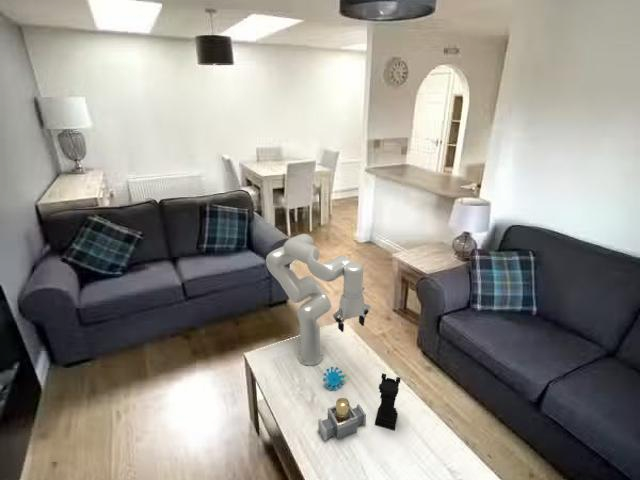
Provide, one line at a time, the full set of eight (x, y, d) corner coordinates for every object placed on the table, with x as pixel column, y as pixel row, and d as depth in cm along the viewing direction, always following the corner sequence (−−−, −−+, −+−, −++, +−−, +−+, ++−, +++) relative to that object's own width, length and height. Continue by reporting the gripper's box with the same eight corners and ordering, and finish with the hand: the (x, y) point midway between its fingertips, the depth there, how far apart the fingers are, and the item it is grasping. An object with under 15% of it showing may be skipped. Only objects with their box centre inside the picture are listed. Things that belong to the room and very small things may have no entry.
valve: (316, 427, 142) (316, 412, 139) (356, 411, 149) (357, 397, 146) (326, 445, 135) (326, 430, 132) (367, 428, 142) (368, 413, 138)
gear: (325, 391, 156) (322, 367, 160) (321, 392, 161) (318, 368, 165) (348, 388, 160) (345, 364, 164) (343, 388, 165) (340, 365, 169)
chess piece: (397, 414, 147) (401, 377, 139) (394, 430, 141) (399, 392, 133) (378, 409, 150) (381, 372, 142) (374, 424, 143) (377, 387, 135)
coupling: (333, 413, 141) (334, 400, 138) (345, 409, 142) (345, 396, 140) (339, 423, 136) (339, 410, 134) (351, 419, 138) (351, 405, 135)
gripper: (366, 283, 151) (364, 317, 158) (329, 292, 145) (329, 327, 152) (376, 292, 145) (373, 326, 152) (337, 302, 138) (336, 337, 145)
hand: (351, 327), depth 152 cm, fingers open, 9 cm apart
